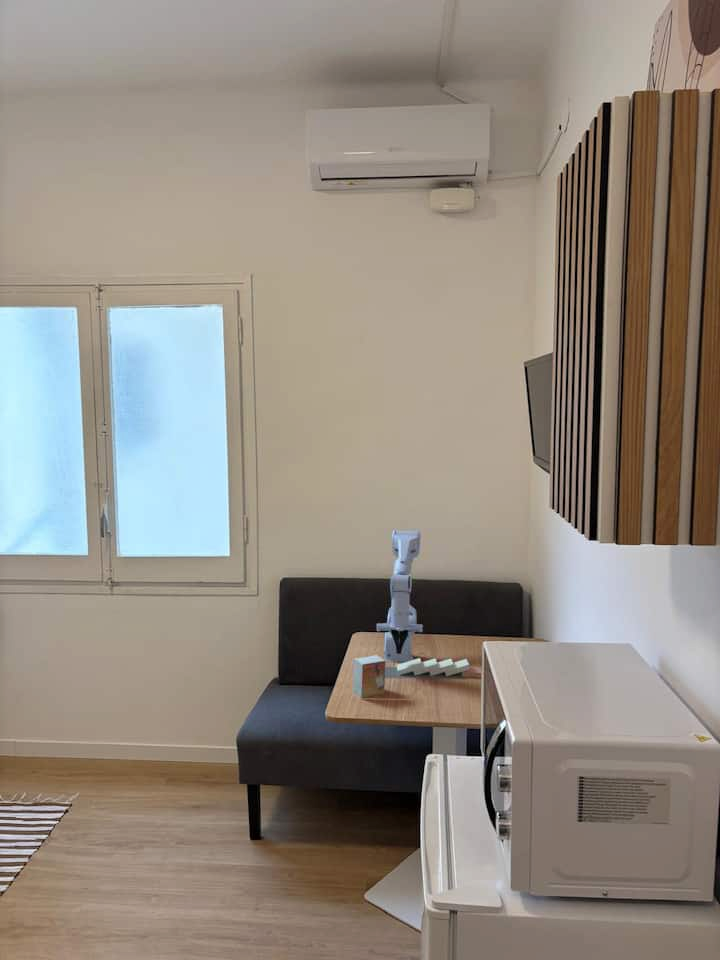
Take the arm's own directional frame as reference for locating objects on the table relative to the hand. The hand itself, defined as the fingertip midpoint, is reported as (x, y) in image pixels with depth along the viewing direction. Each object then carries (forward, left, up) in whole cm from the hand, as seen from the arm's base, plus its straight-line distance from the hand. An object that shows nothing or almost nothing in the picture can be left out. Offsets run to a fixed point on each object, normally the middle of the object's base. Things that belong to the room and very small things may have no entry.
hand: (398, 652), depth 219 cm
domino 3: (+10, 0, -6) cm, 12 cm away
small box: (-10, -16, -7) cm, 20 cm away
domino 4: (+15, 0, -6) cm, 16 cm away
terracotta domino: (+20, 0, -6) cm, 21 cm away
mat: (+7, 0, -7) cm, 10 cm away
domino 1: (0, 0, -6) cm, 6 cm away
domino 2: (+5, 0, -6) cm, 8 cm away
